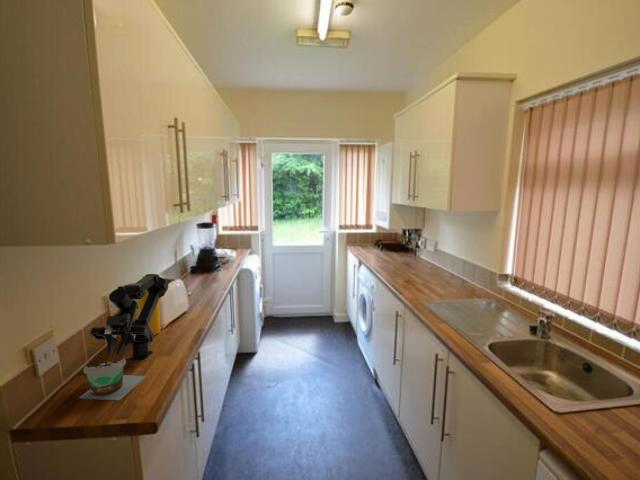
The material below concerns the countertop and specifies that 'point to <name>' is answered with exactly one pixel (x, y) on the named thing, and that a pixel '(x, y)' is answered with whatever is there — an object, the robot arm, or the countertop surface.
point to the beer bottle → (155, 317)
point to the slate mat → (127, 386)
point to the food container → (105, 377)
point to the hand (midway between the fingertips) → (113, 356)
